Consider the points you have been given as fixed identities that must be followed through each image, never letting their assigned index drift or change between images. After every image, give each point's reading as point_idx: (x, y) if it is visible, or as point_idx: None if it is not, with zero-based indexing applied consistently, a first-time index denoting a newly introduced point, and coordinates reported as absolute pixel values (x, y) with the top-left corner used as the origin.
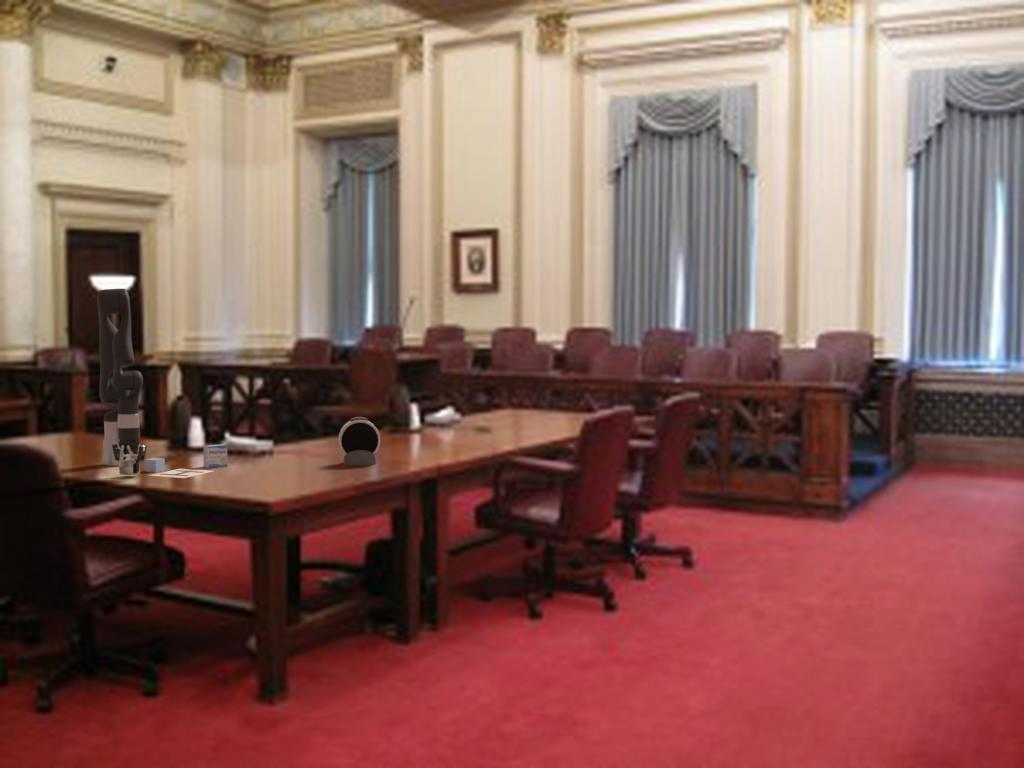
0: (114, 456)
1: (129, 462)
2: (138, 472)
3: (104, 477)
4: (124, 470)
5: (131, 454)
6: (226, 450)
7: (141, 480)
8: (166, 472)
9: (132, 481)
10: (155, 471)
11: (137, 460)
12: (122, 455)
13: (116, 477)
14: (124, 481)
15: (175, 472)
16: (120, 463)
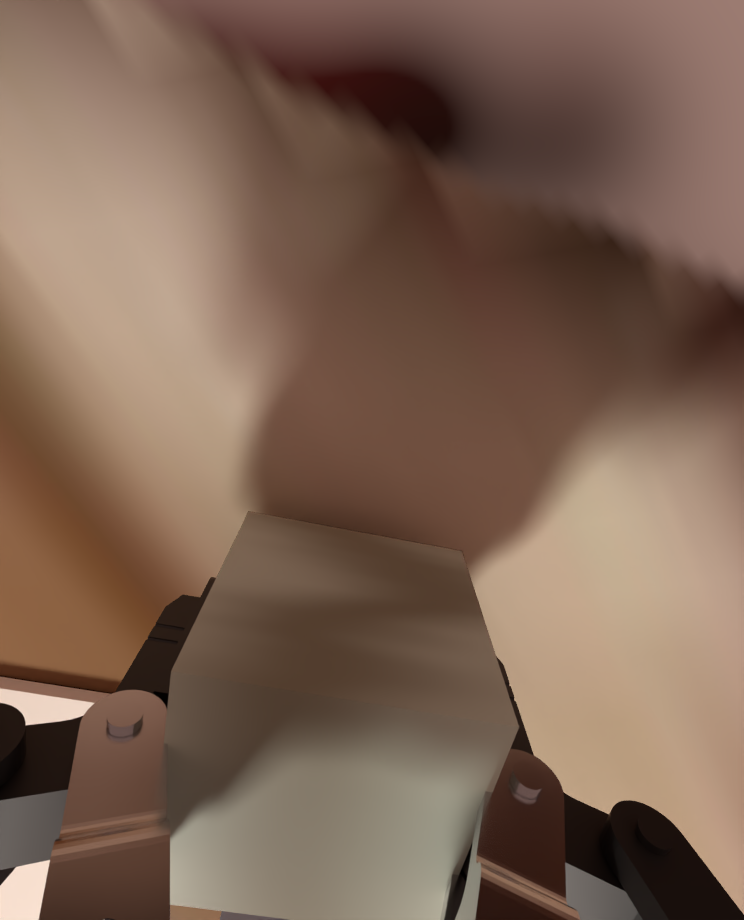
0: (738, 909)
1: (205, 654)
2: None
3: (699, 572)
4: (365, 569)
5: (91, 912)
6: None
7: (54, 428)
8: None
9: (121, 317)
10: None
11: (4, 737)
12: (475, 905)
13: (538, 596)
14: (244, 294)
15: (12, 901)
16: (469, 672)
